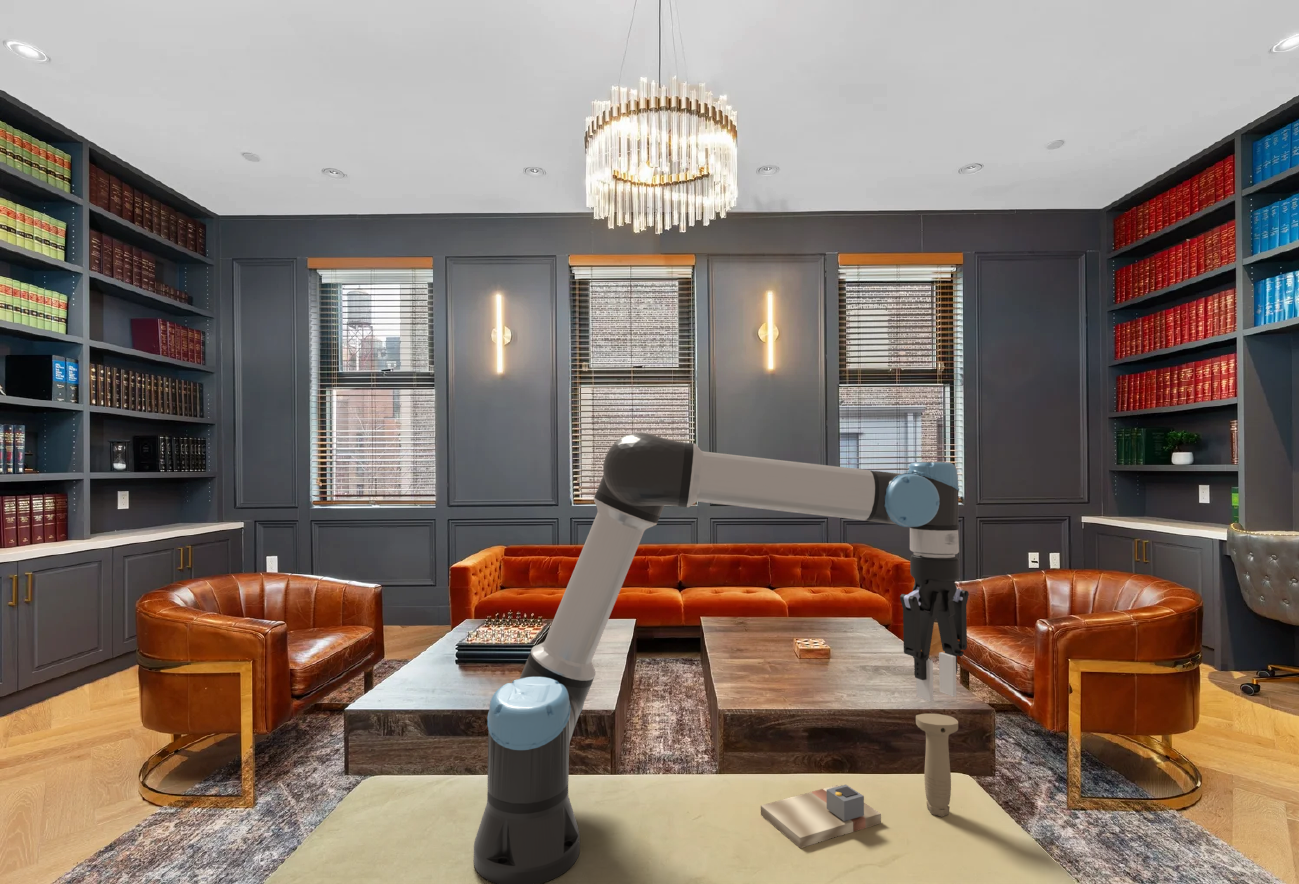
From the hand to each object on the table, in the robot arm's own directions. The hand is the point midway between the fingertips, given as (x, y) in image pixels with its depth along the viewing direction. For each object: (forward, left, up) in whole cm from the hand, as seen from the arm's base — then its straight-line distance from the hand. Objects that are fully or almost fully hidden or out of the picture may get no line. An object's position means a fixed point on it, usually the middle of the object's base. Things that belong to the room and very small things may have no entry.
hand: (936, 695), depth 104 cm
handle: (0, 0, -19) cm, 19 cm away
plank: (-19, +7, -19) cm, 27 cm away
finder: (-16, +4, -17) cm, 24 cm away
